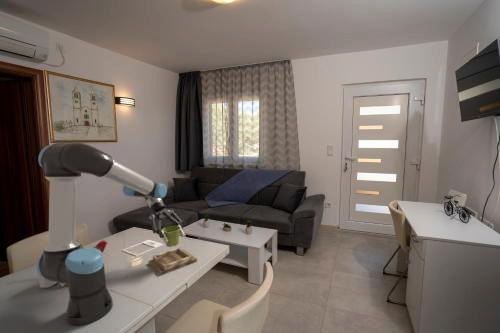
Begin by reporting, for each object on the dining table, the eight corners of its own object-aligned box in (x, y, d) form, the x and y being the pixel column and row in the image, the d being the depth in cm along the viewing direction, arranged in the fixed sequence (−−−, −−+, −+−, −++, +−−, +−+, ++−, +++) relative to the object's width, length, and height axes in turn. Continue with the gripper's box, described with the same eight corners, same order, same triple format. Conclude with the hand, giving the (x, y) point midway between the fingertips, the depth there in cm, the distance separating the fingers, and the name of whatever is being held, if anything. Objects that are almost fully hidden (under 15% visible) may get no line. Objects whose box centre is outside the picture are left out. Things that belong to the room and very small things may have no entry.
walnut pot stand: (160, 275, 122) (159, 268, 122) (148, 263, 134) (147, 257, 134) (197, 261, 135) (196, 255, 135) (183, 251, 147) (183, 246, 147)
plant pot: (174, 249, 128) (173, 232, 127) (158, 247, 131) (157, 231, 130) (184, 242, 137) (184, 226, 136) (170, 240, 140) (169, 225, 139)
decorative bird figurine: (109, 257, 143) (108, 240, 142) (71, 267, 132) (69, 249, 131) (108, 255, 145) (107, 238, 144) (71, 265, 134) (69, 247, 133)
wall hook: (60, 290, 111) (53, 268, 110) (42, 293, 113) (35, 272, 112) (76, 280, 118) (69, 260, 118) (59, 283, 121) (52, 263, 120)
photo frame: (163, 243, 158) (136, 255, 143) (163, 245, 158) (136, 257, 143) (149, 239, 166) (122, 249, 151) (149, 240, 166) (122, 251, 151)
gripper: (171, 204, 150) (189, 236, 142) (134, 213, 133) (153, 250, 125) (176, 196, 146) (195, 228, 138) (139, 205, 129) (158, 242, 121)
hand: (175, 239), depth 131 cm, fingers closed on plant pot, 9 cm apart
